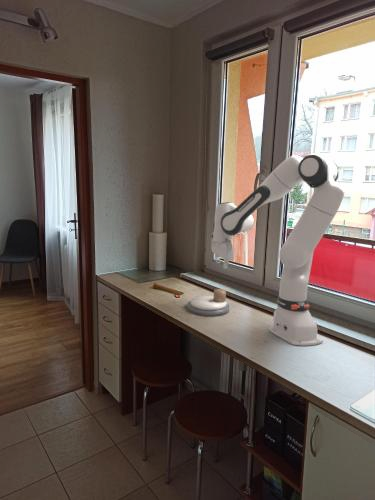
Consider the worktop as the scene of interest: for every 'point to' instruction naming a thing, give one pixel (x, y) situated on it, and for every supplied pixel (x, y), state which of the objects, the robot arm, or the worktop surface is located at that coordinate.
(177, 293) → the primitive tool
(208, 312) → the base
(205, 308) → the dial
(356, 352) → the worktop surface
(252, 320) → the worktop surface
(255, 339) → the worktop surface
